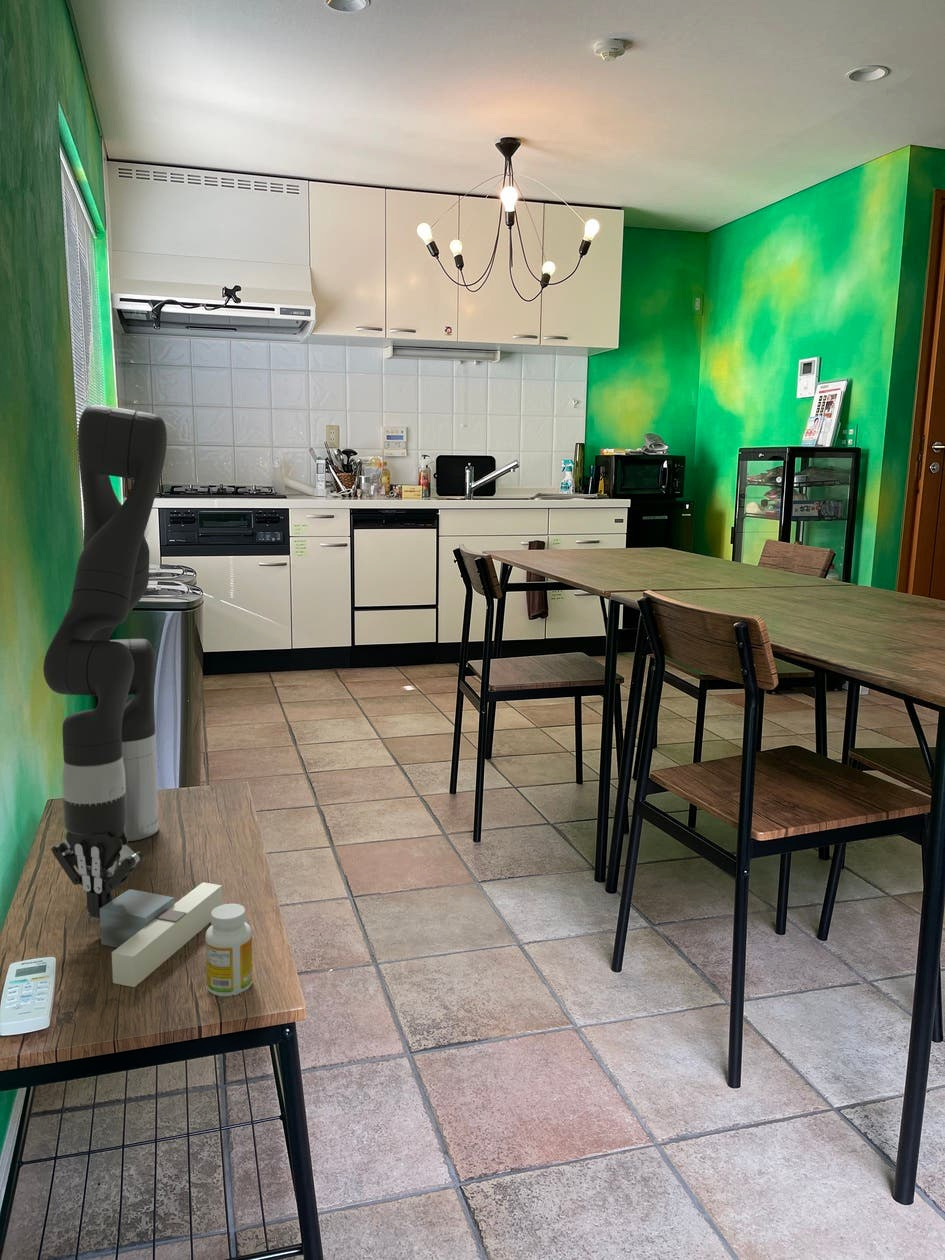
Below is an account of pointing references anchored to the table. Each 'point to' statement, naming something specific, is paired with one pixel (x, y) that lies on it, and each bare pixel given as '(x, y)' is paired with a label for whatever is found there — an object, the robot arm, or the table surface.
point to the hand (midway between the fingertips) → (99, 915)
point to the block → (130, 915)
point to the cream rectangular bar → (164, 935)
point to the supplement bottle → (228, 951)
